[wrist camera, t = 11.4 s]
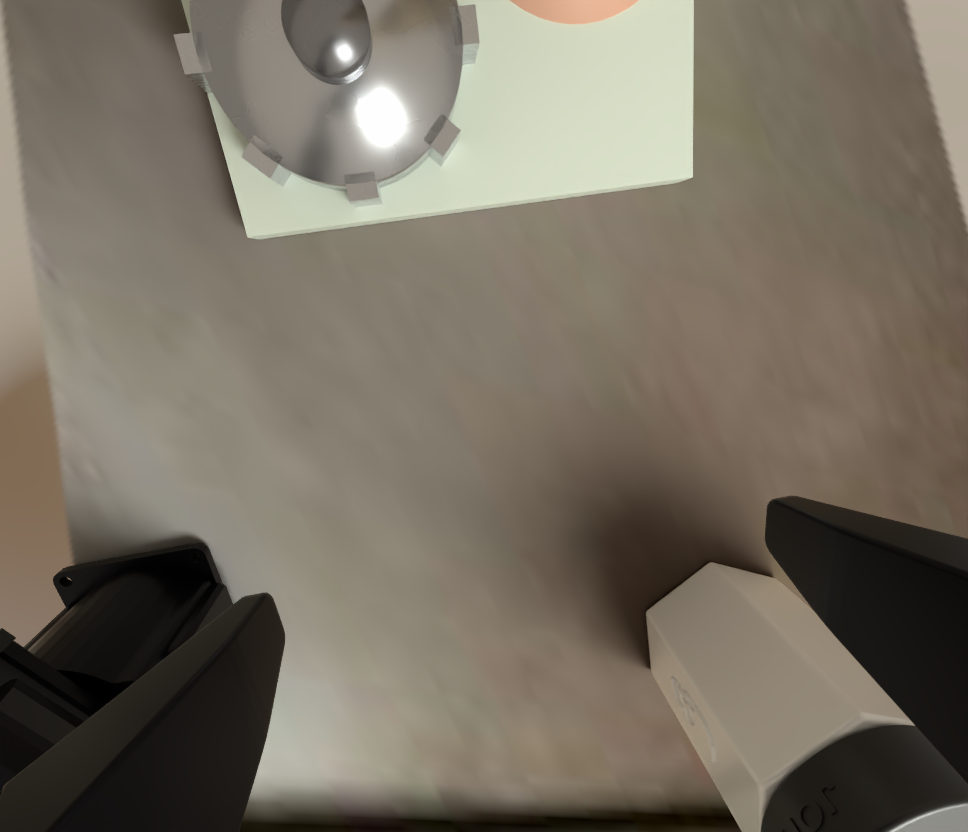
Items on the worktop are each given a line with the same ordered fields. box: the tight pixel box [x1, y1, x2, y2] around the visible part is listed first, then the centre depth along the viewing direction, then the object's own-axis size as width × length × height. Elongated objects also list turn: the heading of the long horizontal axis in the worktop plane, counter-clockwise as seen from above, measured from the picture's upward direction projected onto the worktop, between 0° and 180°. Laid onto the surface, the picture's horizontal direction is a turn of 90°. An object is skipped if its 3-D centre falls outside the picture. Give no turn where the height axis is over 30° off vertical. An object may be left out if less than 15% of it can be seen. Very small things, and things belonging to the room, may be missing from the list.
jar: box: [646, 562, 968, 832], centre depth 21 cm, size 9×8×12 cm
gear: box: [173, 0, 480, 208], centre depth 14 cm, size 9×9×2 cm
